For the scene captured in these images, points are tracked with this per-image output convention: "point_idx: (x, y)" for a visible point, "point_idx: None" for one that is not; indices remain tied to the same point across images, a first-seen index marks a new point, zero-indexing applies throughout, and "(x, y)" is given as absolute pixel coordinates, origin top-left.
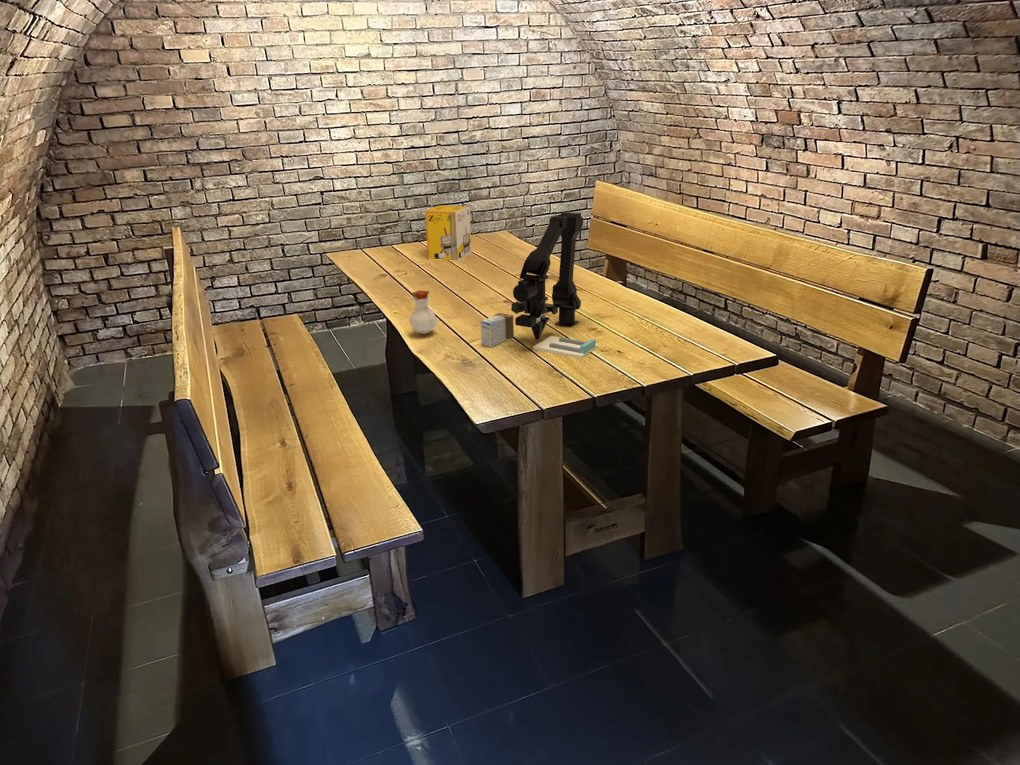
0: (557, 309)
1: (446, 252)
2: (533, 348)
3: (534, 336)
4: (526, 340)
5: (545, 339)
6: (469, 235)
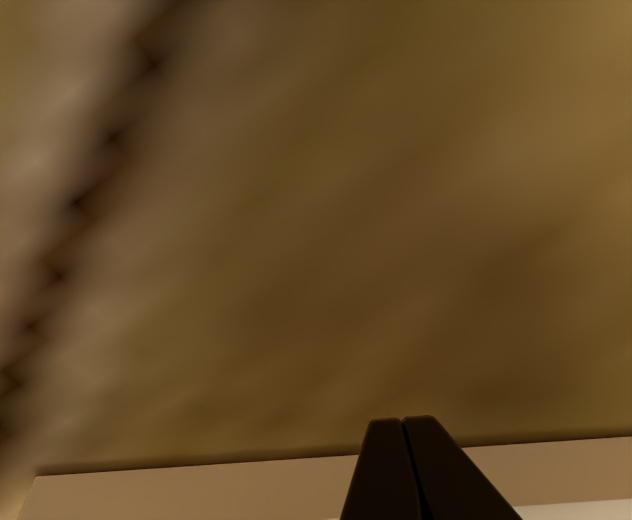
0: None
1: None
2: (27, 504)
3: (353, 475)
4: (455, 33)
5: None
6: None
